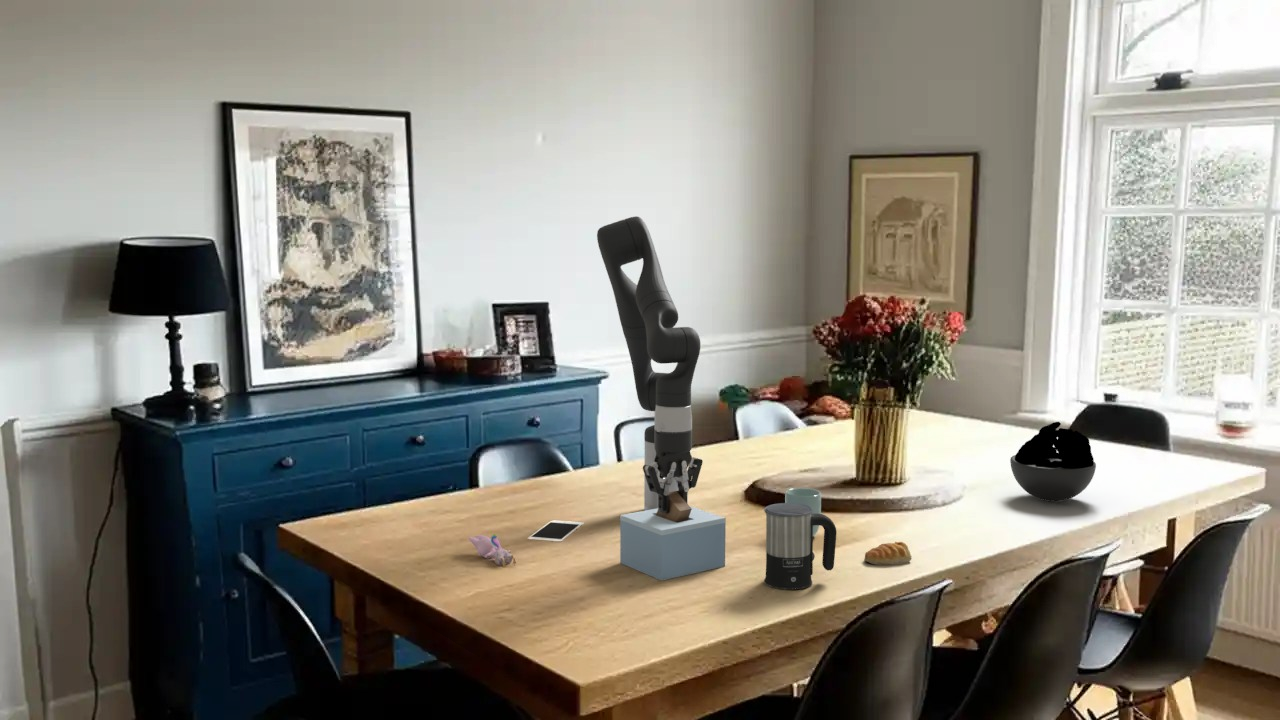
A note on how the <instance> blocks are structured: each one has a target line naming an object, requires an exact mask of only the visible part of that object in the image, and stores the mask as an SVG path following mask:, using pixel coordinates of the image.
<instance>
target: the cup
mask: <svg viewBox="0 0 1280 720" xmlns="http://www.w3.org/2000/svg"><path fill="white" fill-rule="evenodd" d="M784 496H785V497H784V501H785V502H784V503H796V504H802V505H807V506H810V507H811V508H812V509H813V511H812V512H811V513H818V514H822V513H821V512H822V493H821V490H818V489H816V488H815V489H814V488H809V487H808V488H807V487H795V488H794V487H793V488H790V489H789V488H788V489H786V491H785V495H784ZM819 529H820V525H813V537H815V536H816V534H817V533H818V531H819Z"/></svg>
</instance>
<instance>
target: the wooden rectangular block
mask: <svg viewBox="0 0 1280 720" xmlns="http://www.w3.org/2000/svg"><path fill="white" fill-rule="evenodd" d="M668 495H669V513H666V514H665V513H662V512H660V510H659V508H658V511H657V514H656V516H659V517H662V518H665V519H668V520H671V521H673V522H676V523H678V522H683V521H688V518H689V515H690V513H691V510H692V508H691V507H692V506H691V505H689V503H688V502H687V503H686V502H685V500H684V499H683V498H682V497H681V496H680V495H679V494H678V493H677V491H670V492H669V493H668ZM690 506H691V507H690Z"/></svg>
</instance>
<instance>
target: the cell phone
mask: <svg viewBox="0 0 1280 720" xmlns="http://www.w3.org/2000/svg"><path fill="white" fill-rule="evenodd" d="M581 525H582V526H583V525H584V522H580V521H568V520H555V519H553V520H551V521H549V522H548V523H546V524H545V525H544V526H542V527H541V528H540V529H538V530H536V531H535V532H534V533H532V534H531V535H530V536H528V537H527V540H528V539H529V540H530V541H539V540H543V541H542V542H551V541H553V542H554V543H561V541H562V542H563V541H564V540H565V539H567V538H568V537H569V536H570V535H572V534H573V533H575V531H577V530H578V529H580V526H581ZM582 526H581V527H582ZM576 529H577V530H576ZM553 542H552V543H553Z"/></svg>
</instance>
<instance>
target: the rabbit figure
mask: <svg viewBox="0 0 1280 720" xmlns="http://www.w3.org/2000/svg"><path fill="white" fill-rule="evenodd" d="M467 539H468V540H469V541H470V543H471V544H472V545H473V546H474V547H476V551H477V554H478V555H479V556H480V557H483V558H484V559H491V558H492V559H493V560H494V563H495V564H496V565H497V566H499V567H502V568H505V566H507V565H508V564H510V563H512V565H516V564H517V562H516V557H514V555H513V554H512V555H511V553H512V550H509V549H508V550H507V549H504V548H503V547H502V546H501V543H500V541H499V539H498V535H497V534H493V535H492V536H491V537H490V538H489V536H487V535H484V534H479V535H476V536H470V537H467ZM512 561H513V562H512Z"/></svg>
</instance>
